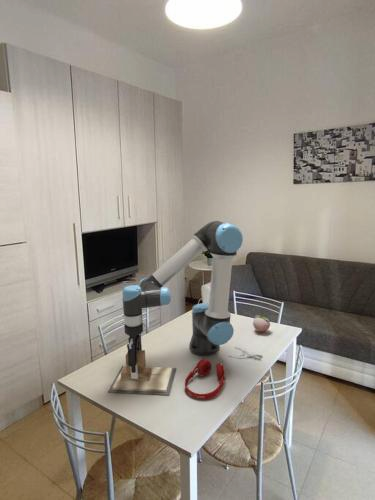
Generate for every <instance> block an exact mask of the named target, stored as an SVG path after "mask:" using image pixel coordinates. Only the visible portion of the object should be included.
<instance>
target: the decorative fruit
mask: <svg viewBox="0 0 375 500" xmlns="http://www.w3.org/2000/svg"><path fill="white" fill-rule="evenodd" d="M253 318H254V319H253V321H252V325H253V328H254V329H255V330H256V331H258V332H260V333H264V332H266V331H268V330H269V328H270V326H271V321H270V320H269V318H267V317H265V316H263V315H255V316H253Z"/></svg>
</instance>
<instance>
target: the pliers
mask: <svg viewBox="0 0 375 500" xmlns="http://www.w3.org/2000/svg"><path fill="white" fill-rule="evenodd" d="M234 349H237V350H240V351H242V354H240V355H238V356H237V355H232V354H231V355H229V354H228V355H227V357H229V358H231V359H232V358H233V359H240V360H242V359H243V360H244V359H253V360H255V361H256V360H257V361H259V360H260V361H261V360H262V358H263V354H260V353H256V352H255V353H254V352H250V351H249V350H247V349H244V348H242V347H237V346H235V347H234Z"/></svg>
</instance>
